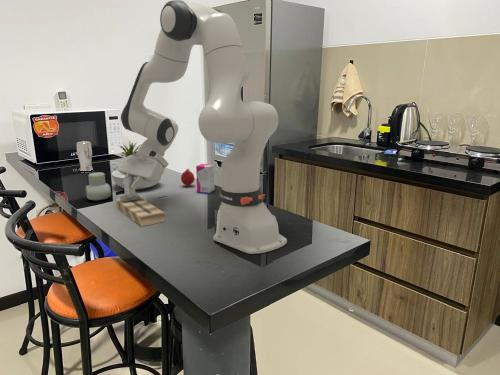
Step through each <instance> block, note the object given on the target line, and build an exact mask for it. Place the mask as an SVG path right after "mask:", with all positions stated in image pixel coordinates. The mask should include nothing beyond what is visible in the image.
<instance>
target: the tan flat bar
mask: <svg viewBox="0 0 500 375" xmlns="http://www.w3.org/2000/svg"><path fill="white" fill-rule="evenodd" d="M115 203H116V208H117V209H118V210H120V211H121V212H122V213H124V215H126V216H127V217H129V218H130V219H131V220H133V221H134V222H135V223H137V224H138V225H139V226H140V227H146V226H150V225H151V226H152V225H155V224H159V223H164V222H166V215H165V214H166V213H165V212H164V211H163V210H161V209H159V208H158V207H156V206H155V205H153V204H151V203H150V202H148V201H146V200H145V199H143V198H142V197H141V199H138V200H132V201H127V202H124V201H122V200H121V199H120V198H117V199H115Z"/></svg>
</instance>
